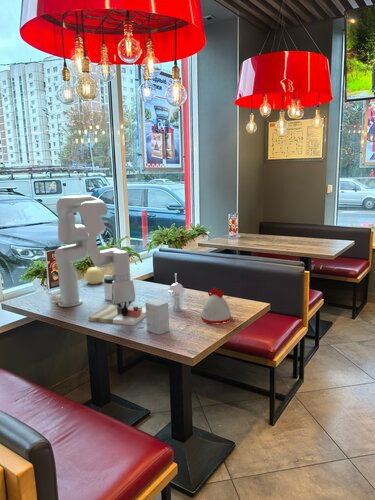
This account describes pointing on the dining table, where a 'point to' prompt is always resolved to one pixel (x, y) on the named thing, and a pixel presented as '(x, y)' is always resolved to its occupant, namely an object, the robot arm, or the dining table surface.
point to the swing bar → (133, 311)
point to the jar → (108, 287)
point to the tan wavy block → (106, 314)
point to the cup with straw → (176, 295)
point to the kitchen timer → (215, 308)
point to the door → (130, 318)
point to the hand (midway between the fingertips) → (124, 315)
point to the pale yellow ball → (95, 275)
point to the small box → (157, 316)
